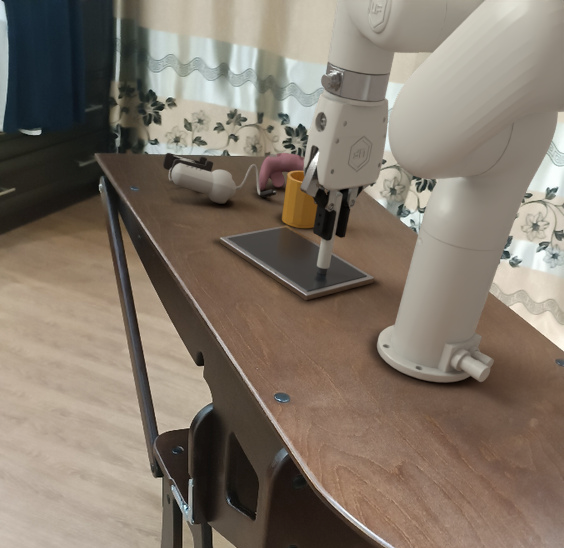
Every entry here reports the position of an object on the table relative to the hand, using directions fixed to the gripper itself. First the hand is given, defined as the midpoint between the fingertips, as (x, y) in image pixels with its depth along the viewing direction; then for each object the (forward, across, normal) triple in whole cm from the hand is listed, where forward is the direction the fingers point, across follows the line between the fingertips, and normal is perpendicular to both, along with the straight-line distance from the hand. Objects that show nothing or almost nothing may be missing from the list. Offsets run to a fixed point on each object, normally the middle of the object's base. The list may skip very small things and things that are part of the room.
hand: (328, 234), depth 97 cm
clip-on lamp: (+7, +5, +32) cm, 33 cm away
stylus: (+6, 0, 0) cm, 6 cm away
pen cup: (+7, +11, +18) cm, 22 cm away
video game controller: (+7, +18, +30) cm, 35 cm away
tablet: (+7, 0, +6) cm, 9 cm away
